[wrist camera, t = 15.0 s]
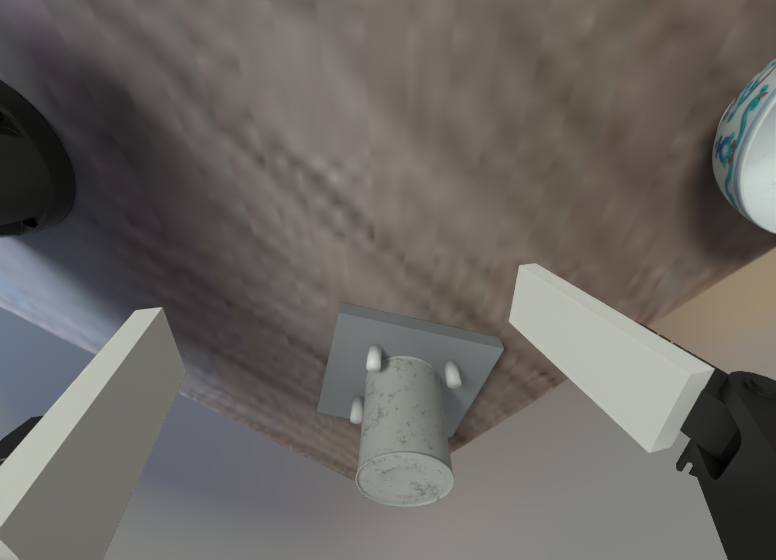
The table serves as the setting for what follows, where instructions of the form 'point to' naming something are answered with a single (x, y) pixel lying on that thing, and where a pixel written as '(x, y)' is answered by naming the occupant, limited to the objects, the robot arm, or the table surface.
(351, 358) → the stub board
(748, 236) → the table surface
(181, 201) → the table surface
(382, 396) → the grey marbled cylinder
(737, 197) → the chinaware
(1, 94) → the robot arm
